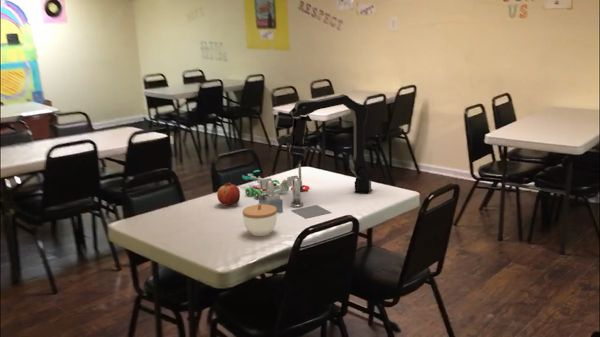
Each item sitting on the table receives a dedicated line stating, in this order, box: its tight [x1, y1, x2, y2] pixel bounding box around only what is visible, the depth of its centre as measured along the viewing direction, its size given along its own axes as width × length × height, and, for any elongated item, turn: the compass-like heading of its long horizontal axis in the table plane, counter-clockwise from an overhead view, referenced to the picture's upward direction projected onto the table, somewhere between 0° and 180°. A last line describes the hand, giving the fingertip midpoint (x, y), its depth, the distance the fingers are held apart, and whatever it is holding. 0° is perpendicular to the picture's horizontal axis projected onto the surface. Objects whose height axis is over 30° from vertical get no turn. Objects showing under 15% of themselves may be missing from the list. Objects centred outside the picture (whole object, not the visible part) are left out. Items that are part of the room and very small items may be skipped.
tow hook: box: [290, 163, 310, 193], centre depth 271 cm, size 8×13×9 cm
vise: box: [258, 177, 284, 213], centre depth 243 cm, size 7×10×14 cm
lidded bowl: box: [242, 203, 278, 237], centre depth 217 cm, size 13×13×11 cm
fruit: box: [216, 181, 241, 207], centre depth 252 cm, size 11×10×10 cm
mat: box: [290, 204, 332, 219], centre depth 240 cm, size 12×12×1 cm
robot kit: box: [241, 169, 290, 200], centre depth 270 cm, size 19×25×9 cm
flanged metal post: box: [286, 175, 304, 209], centre depth 247 cm, size 6×5×13 cm
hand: (293, 165), depth 254 cm, fingers open, 9 cm apart
